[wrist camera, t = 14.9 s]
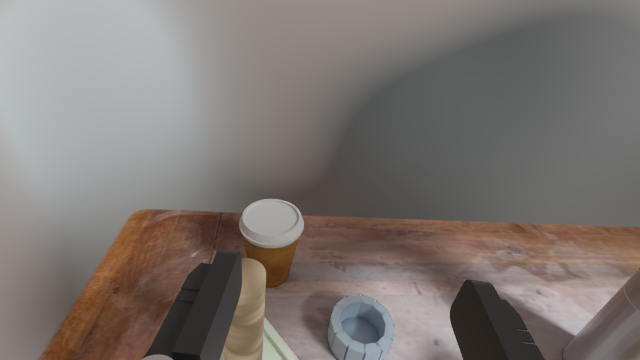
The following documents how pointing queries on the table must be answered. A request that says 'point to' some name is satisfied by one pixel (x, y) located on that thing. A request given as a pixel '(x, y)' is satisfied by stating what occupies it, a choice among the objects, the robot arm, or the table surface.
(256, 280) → the dowel
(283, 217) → the disposable coffee cup
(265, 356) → the tray
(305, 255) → the table surface
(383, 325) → the holder
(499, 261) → the table surface
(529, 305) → the table surface
